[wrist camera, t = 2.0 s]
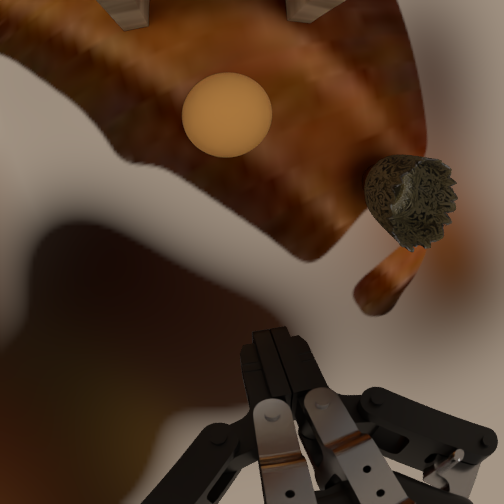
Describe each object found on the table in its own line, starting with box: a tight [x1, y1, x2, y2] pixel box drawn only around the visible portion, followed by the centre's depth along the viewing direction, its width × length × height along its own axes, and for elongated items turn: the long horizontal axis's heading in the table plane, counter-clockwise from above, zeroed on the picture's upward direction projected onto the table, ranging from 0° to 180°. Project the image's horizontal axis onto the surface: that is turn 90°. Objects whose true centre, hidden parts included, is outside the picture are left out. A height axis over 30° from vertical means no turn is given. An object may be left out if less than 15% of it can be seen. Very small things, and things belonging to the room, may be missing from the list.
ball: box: [182, 72, 272, 157], centre depth 17 cm, size 6×6×6 cm
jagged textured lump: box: [362, 155, 458, 252], centre depth 21 cm, size 8×7×8 cm
